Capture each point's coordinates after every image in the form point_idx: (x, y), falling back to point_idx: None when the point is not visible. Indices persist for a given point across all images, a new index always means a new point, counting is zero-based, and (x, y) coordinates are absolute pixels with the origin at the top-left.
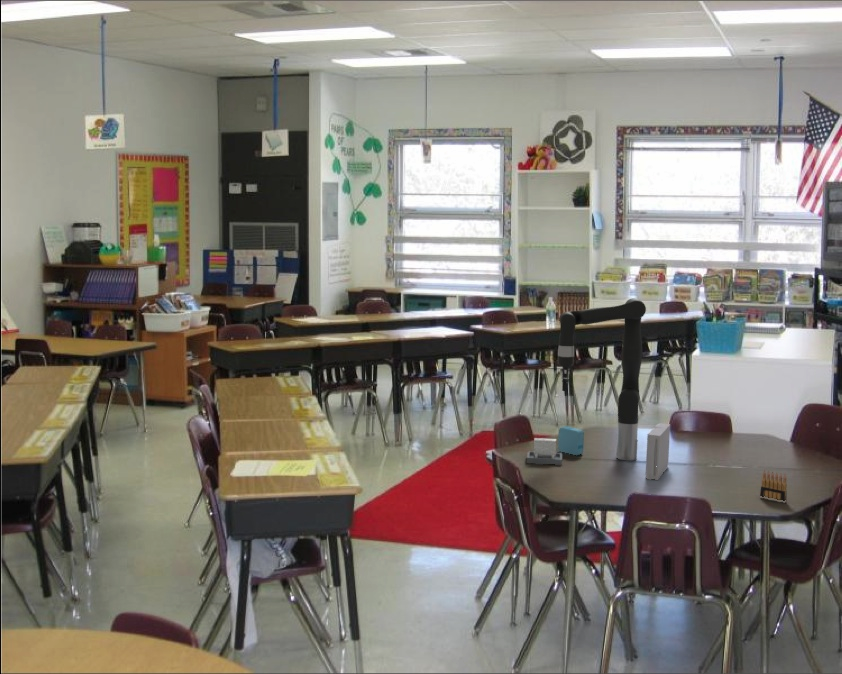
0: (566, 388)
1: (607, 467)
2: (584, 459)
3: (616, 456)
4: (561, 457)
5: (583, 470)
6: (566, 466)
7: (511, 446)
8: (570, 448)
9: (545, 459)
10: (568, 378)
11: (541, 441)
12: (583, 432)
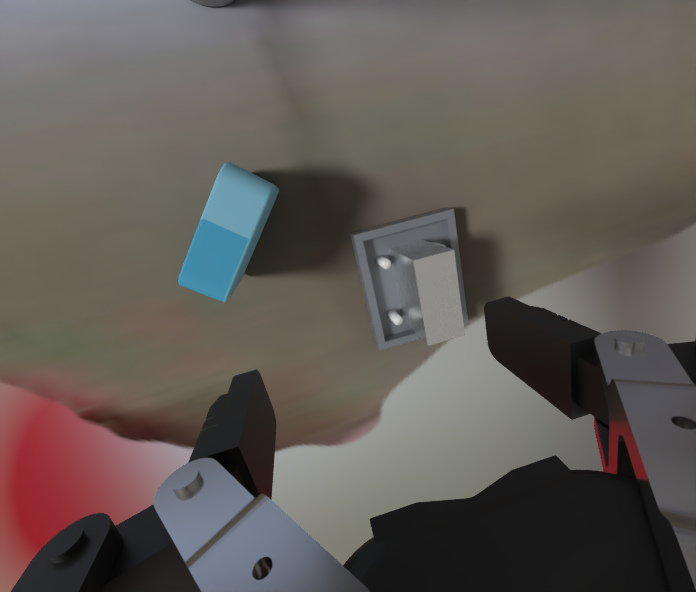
0: (526, 313)
1: (411, 25)
2: (319, 148)
3: (224, 1)
4: (422, 219)
5: (487, 116)
6: (451, 189)
7: None
8: (264, 223)
9: (460, 265)
10: (647, 381)
11: (459, 306)
12: (230, 163)
